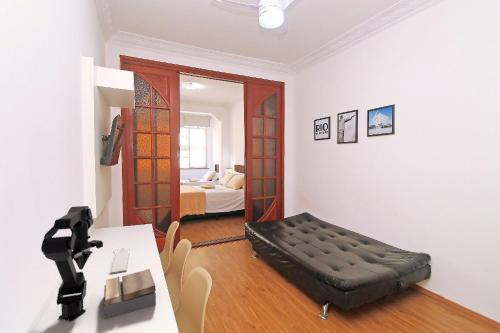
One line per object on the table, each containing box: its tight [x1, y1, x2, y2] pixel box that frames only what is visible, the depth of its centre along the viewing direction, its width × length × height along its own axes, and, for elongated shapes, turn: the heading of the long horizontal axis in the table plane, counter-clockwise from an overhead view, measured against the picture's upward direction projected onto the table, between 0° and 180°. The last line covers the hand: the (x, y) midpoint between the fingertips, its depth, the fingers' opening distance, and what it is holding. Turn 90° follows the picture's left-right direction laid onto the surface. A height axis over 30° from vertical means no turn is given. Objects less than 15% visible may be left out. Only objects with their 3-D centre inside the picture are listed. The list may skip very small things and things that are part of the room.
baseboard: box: [108, 248, 130, 275], centre depth 146 cm, size 30×3×10 cm
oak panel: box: [105, 276, 121, 306], centre depth 105 cm, size 5×17×3 cm, turn 30°
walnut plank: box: [121, 268, 157, 301], centre depth 110 cm, size 12×17×2 cm
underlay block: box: [103, 280, 157, 320], centre depth 108 cm, size 19×18×5 cm
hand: (81, 269), depth 109 cm, fingers closed
